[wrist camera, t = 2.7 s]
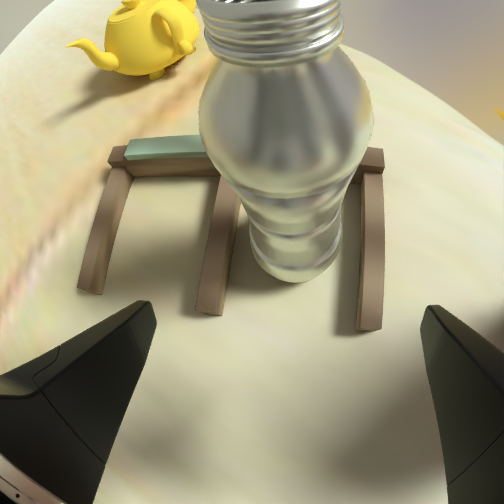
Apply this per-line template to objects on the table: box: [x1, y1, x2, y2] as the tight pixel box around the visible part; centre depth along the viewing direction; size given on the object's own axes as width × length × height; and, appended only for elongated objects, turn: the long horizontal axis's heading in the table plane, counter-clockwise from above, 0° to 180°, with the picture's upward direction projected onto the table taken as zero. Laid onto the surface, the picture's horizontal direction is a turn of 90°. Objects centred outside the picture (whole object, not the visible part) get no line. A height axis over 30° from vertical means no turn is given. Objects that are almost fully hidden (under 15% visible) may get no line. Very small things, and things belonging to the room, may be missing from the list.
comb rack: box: [77, 135, 385, 331], centre depth 23 cm, size 14×24×4 cm, turn 82°
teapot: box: [66, 0, 200, 80], centre depth 30 cm, size 20×15×12 cm
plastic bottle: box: [196, 0, 374, 283], centre depth 15 cm, size 6×7×20 cm
